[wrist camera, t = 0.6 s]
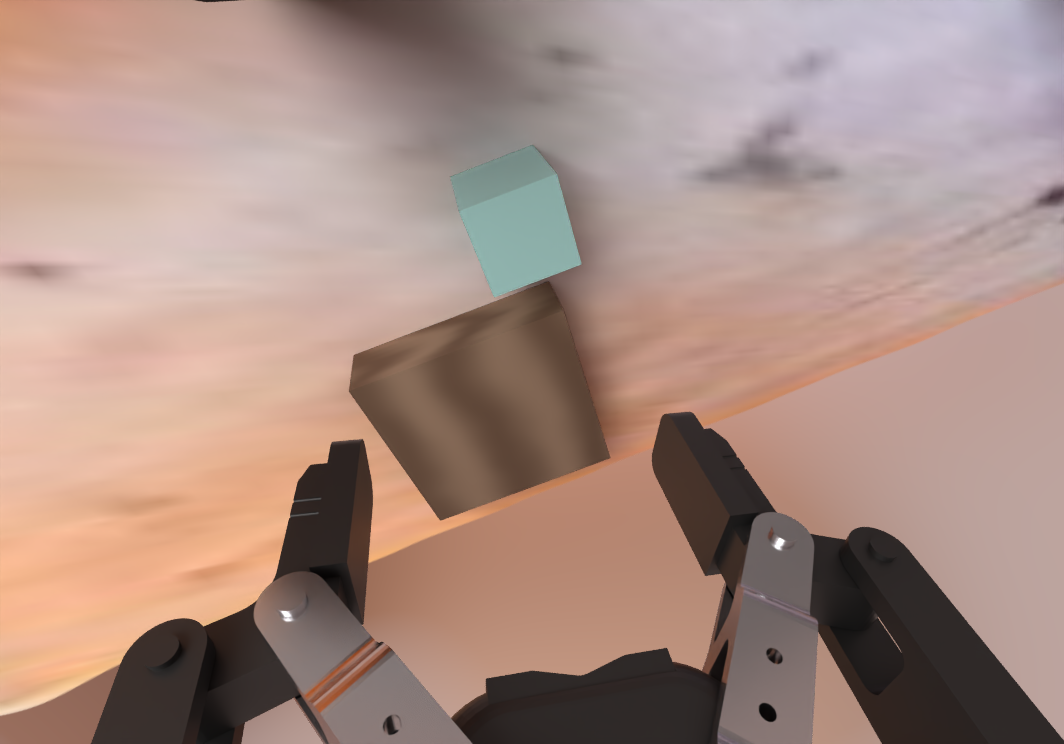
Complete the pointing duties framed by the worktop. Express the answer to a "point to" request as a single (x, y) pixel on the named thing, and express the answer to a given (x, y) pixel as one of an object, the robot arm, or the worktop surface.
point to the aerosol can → (215, 0)
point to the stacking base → (483, 402)
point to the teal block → (516, 220)
